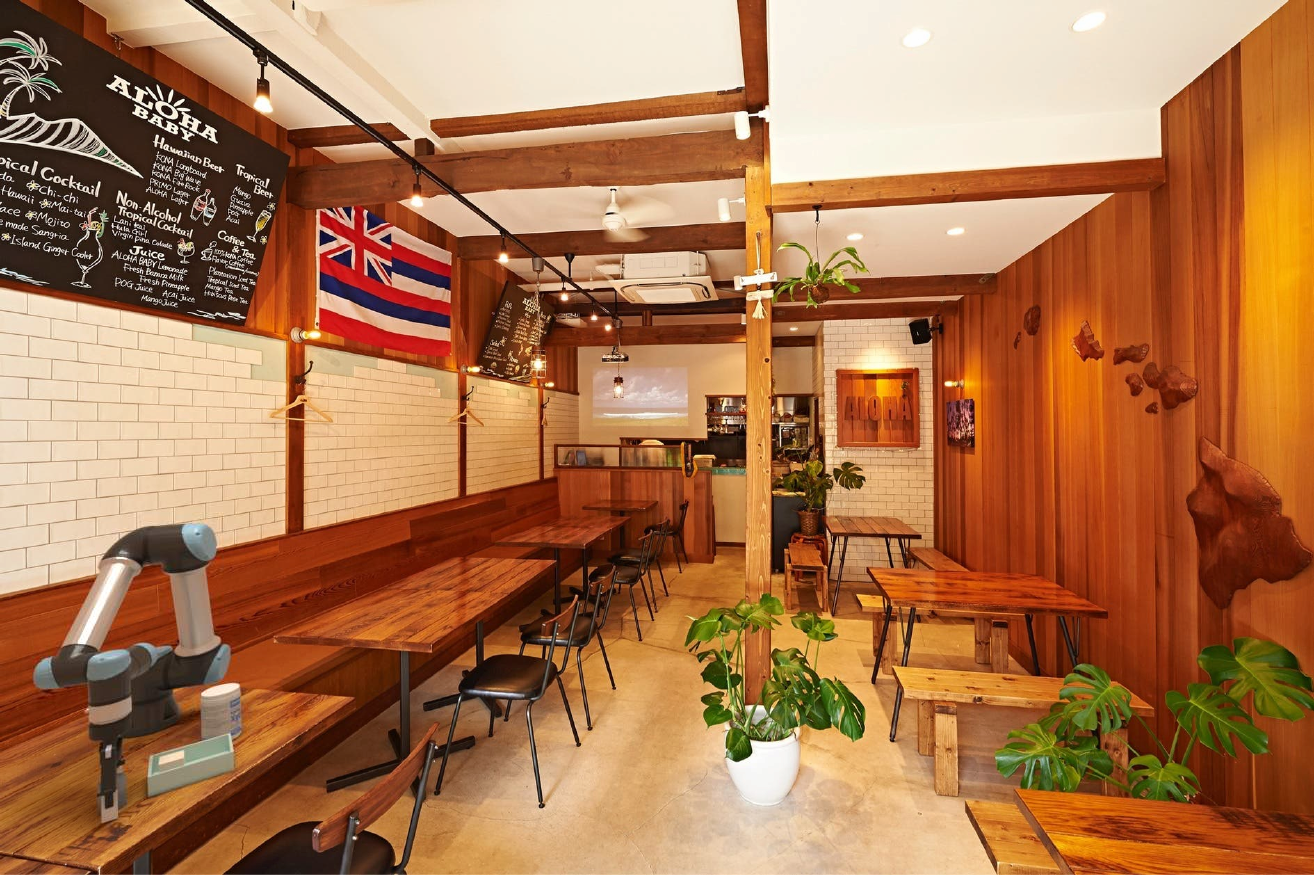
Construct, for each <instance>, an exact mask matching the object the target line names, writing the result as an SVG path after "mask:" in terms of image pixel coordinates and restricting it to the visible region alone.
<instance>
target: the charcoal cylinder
mask: <svg viewBox="0 0 1314 875" xmlns="http://www.w3.org/2000/svg"><path fill="white" fill-rule="evenodd" d="M116 787H117V794H118V811H120V810H122V809H123V808H125V807H126V806H127V804H128V801H127V800H128V798H127V797H128V796H127V794H128V793H127V791H128V790H127V774H126V773H125V772H122V773H117V780H116ZM109 788H111V787H109ZM106 789H107V788H106ZM100 792H101V779H100V780H99V781H98V782H97V794H98V793H100ZM97 808H98V809H97V810H98V811H97V812H98V815H101V796H100V797H97ZM101 816H102V815H101Z"/></svg>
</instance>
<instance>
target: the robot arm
mask: <svg viewBox="0 0 1314 875" xmlns="http://www.w3.org/2000/svg"><path fill="white" fill-rule="evenodd" d="M217 547H218V542H217V538H216V534H215V532H214V530H213V529H212V527H211V526H209V525H208V524H206V523H203V522H202V523H201V522H199V523H197V522H194V523H193V522H187V523H178V524H177V523H176V524H165V525H164V524H163V525H148V526H147V525H146V526H142V527H138V528H137V529H134V530H132V531H129V532H128V533H127V534H124V535H123V536H122V537H120V539H118V540H116V542H115V543H113V544H112V545H111V546H110V547H109V548H108V549H107V550H106V551H105V553H104V555H103V556H102V557H101V558H100V561H99V563H98V566H97V568H98V571H99V573H98V575H97V577H96V579H95V580H94V583H93V584H92V587H91V589H90V590H89V592H88V595H86V598H85V601H84V602H83V604H82V606H81V608H80V609H79V612H78V614H77V615H76V618H75V620H74V622H73V623H72V626H71V627H70V630H69V631H68V633H67V635H66V637H65V640H63V643H62V645H61V647H60V649H59V650H58V652H57V654H56V655H55V656H50V657H46V658H43V659H42V660H41V661H40V662H39V663H38V664H37V665H36V666H35V668H34V672H33V676H32V678H33V679H32V680H33V683H34V686H36V687H37V688H38V689H41V690H50V689H52V690H53V689H63V688H67V687H75V686H79V685H82V686H83V685H87V697H88V699H87V701H88V702H87V704H88V708H86V709H85V710H84V713H85V714H88V722H89V724H88V739H89V740H90V741H93V742H99V741H101V742H100V744H99V747H98V753H99V764H100V780H101V792H100V793H98V792H97V793H96V798H98V797H100V796H101V824H105V823H107V822H110V821H113V820H117V819H119V810H118V794H117V787H116V780H117V773H123V766H124V765H126V759H123V755H122V754H123V753H122V750H123V742H124V738H134V737H140V736H141V737H142V736H145V735H149V734H153V733H156V732H158V731H161V730H165V729H167V728H168V727H171V726H173V725H175V724H176V723H178V722H179V721H180V720H181V718H182V711H181V708H180V706H179V703H178V701H177V699H176V698H175V696H174V690H177V689H178V690H180V689H185V688H193V687H199V686H200V687H201V686H204V687H205V686H207V685H211V684H217V683H219V682H221V681H222V680H223V679H224V677H225V676H226V674H227V671H228V668H229V665H230V661H231V647H230V645H228V644H225V643H224V644H222V640H221V637H220V636H218V635H216V634H215V632H214V624H213V616H212V610H211V609H212V608H211V602H210V594H209V586H208V579H207V570H206V568H207V567H208V566H209V565H210V564H211V560H213V559H214V558H215V557H216V555H217ZM150 565H161V568H162V569H161V570H162V573H163V574H166V575H168V576H169V580H170V585H171V592H172V593H171V594H172V598H173V607H174V612H175V620H176V627H177V633H178V640H179V644H178V645H177V646H176V647H175V648H174V650H173V647H172V646H171V645H163V646H156V647H155V646H154V645H152V644H150V643H147V642H139V643H136V644H132V645H129V647H127V648H120V649H119V648H118V649H111V650H104V651H100V649H101V647H102V645H103V643H104V642H105V639H106V637H107V635H108V632H109V630H110V629H111V626H112V623H113V622H114V620H115V617H116V616H117V613H118V611H119V608H120V607H121V605H122V602H123V601H124V598H125V596H126V595H127V592H128V590H129V588H130V586H131V585H132V584H131V583H132V581H133V579H134V577H137V576H139V575H140V573H141V572H142V570H143V568H144V567H146V566H150ZM109 787H111V788H109ZM106 788H107V789H106Z"/></svg>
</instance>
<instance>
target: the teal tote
mask: <svg viewBox="0 0 1314 875" xmlns="http://www.w3.org/2000/svg"><path fill="white" fill-rule="evenodd" d="M183 750H184V758H185V765H184V766H181V767H177V768H174V769H171V770H167V771H164V772H161V773H159V758H160V757H161V756H165V755H169V754H172V753H176V752H179V751H183ZM234 755H235V750H234V746H233V740H232V739H231V733H229V734H225V735H222V736H218V737H215V738H211V739H208V740H204V741H202V740H201V741H197V742H195V743H191V744H186V745H183V746H181V747H177V748H173V749H169V750H166V751H162V752H159V753H155V754H151V755H150V756H149V760H148V761H149V762H148V769H147V770H148V771H147V797H148V798H152V797H154V796H158V795H160V794H163V793H164V794H165V793H167V792H169V791H172V790H173V791H174V790H176V789H180V788H183V787H186V786H189V785H192V784H195V783H198V782H202V781H205V780H209V779H211V778H214V777H217V776H220V775H223V774H226V773H229V772H233V771H235V756H234Z"/></svg>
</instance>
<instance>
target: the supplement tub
mask: <svg viewBox="0 0 1314 875" xmlns="http://www.w3.org/2000/svg"><path fill="white" fill-rule="evenodd" d="M241 696H242V694H241V685H240V684H239V683H235V682H231V683H224V684H219V685H215V686H212V687H209V688H208V689H205V690H204V691H202V692H201V694H200V721H201V722H200V725H201V726H200V727H201V729H200V730H201V741H204V740H208V739H211V738H215V737H218V736H222V735H225V734H229V733H231V739H232V741H234V740H235V739H237V738H238V737H240V735H241V734H242V733H243V732H242V725H243V724H242V697H241Z"/></svg>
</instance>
